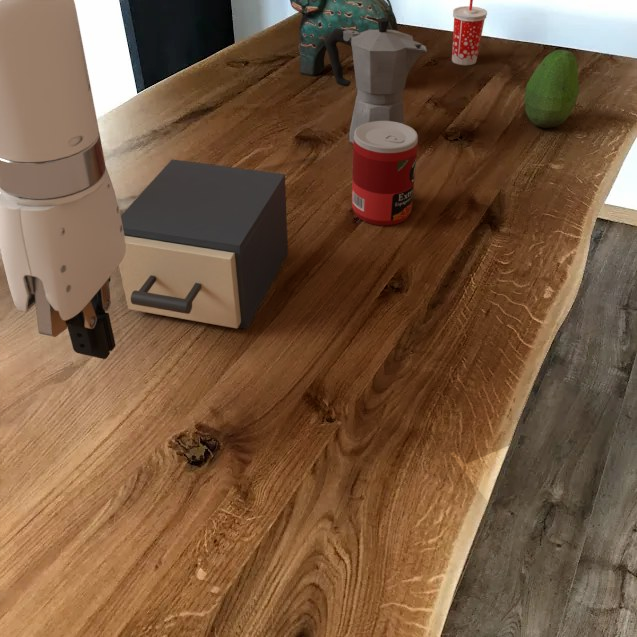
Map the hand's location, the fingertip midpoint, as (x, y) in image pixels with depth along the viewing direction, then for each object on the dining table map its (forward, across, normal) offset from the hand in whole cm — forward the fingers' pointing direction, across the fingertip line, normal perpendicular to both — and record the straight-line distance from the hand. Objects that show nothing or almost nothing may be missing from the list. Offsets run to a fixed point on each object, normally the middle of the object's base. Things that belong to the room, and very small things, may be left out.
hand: (95, 349), depth 64 cm
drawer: (+7, -18, +1) cm, 20 cm away
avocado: (+8, -74, +37) cm, 83 cm away
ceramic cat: (+9, -85, +2) cm, 86 cm away
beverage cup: (+8, -99, +21) cm, 102 cm away
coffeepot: (+8, -63, +11) cm, 65 cm away
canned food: (+8, -42, +17) cm, 46 cm away
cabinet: (+8, -22, +2) cm, 23 cm away
